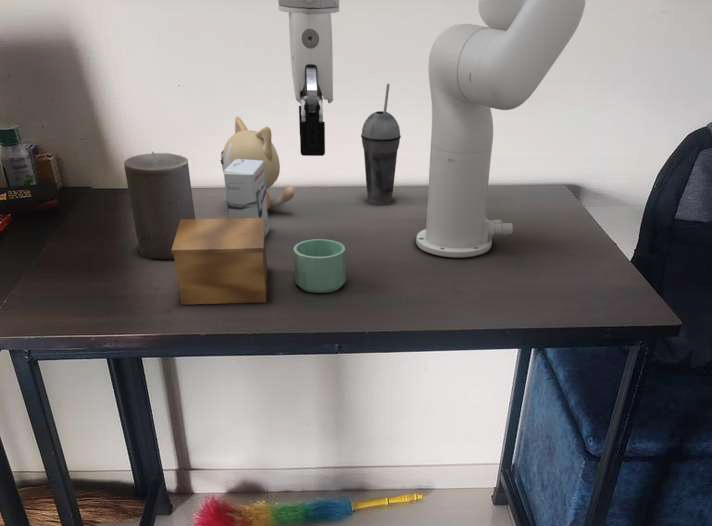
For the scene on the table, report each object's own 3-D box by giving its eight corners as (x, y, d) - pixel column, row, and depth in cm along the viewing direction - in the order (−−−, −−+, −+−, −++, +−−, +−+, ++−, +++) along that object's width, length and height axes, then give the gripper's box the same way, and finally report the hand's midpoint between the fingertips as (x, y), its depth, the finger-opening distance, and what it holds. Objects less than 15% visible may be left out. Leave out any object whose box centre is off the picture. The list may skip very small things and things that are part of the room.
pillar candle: (132, 259, 122) (113, 159, 112) (148, 237, 129) (131, 142, 120) (192, 261, 121) (179, 161, 112) (205, 239, 129) (193, 144, 120)
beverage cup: (356, 196, 148) (356, 80, 136) (391, 193, 150) (394, 79, 138) (367, 208, 143) (368, 89, 130) (403, 205, 145) (408, 87, 132)
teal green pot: (343, 273, 118) (343, 238, 115) (347, 293, 112) (346, 257, 109) (295, 275, 118) (293, 239, 114) (295, 295, 112) (293, 258, 108)
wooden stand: (268, 269, 119) (264, 217, 114) (267, 303, 109) (263, 247, 104) (187, 271, 118) (180, 219, 113) (179, 305, 108) (171, 249, 103)
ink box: (259, 248, 126) (253, 173, 119) (229, 247, 126) (221, 172, 119) (270, 230, 133) (264, 158, 125) (242, 229, 133) (235, 157, 126)
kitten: (208, 205, 143) (197, 117, 134) (253, 195, 148) (246, 110, 139) (252, 226, 134) (244, 134, 125) (298, 215, 139) (294, 125, 130)
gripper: (343, 4, 88) (342, 163, 98) (335, -9, 101) (336, 131, 112) (277, 3, 87) (284, 162, 97) (278, -11, 101) (284, 130, 111)
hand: (311, 145), depth 105 cm, fingers open, 9 cm apart
